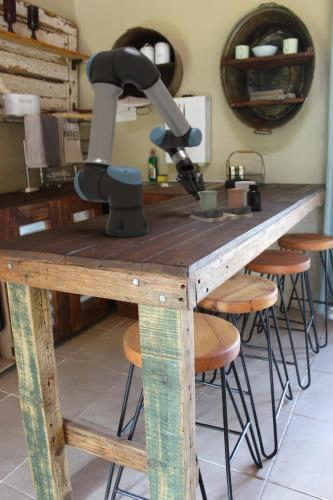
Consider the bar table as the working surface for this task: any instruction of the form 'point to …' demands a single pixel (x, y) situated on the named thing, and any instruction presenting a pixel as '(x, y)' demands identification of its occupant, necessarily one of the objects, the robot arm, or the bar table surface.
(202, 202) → the green container
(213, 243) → the bar table surface
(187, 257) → the bar table surface
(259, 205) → the supplement bottle
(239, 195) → the terracotta rectangular container
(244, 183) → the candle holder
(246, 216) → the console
